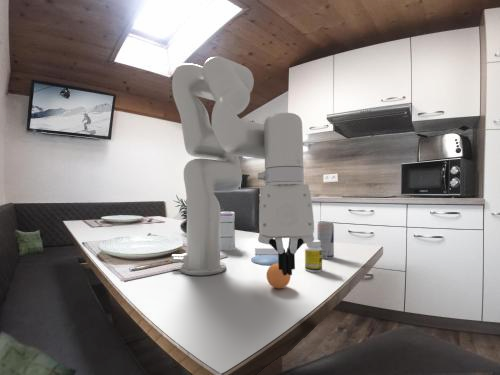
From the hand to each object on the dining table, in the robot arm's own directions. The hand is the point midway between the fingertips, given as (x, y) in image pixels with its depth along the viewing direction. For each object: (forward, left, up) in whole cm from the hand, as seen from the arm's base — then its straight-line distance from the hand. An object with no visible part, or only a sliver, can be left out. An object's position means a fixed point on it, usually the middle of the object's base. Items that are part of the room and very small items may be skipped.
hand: (286, 273), depth 50 cm
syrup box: (-17, +52, -7) cm, 55 cm away
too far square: (-1, +47, -6) cm, 48 cm away
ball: (-1, +10, -4) cm, 11 cm away
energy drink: (+18, +39, -7) cm, 44 cm away
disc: (-1, +35, -6) cm, 36 cm away
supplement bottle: (+11, +24, -7) cm, 27 cm away
